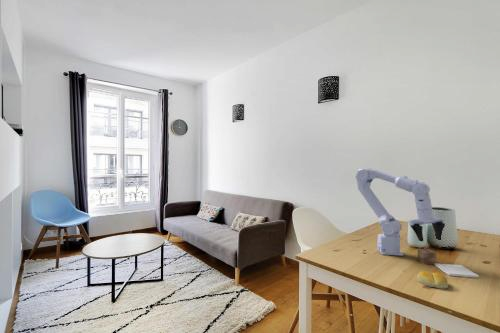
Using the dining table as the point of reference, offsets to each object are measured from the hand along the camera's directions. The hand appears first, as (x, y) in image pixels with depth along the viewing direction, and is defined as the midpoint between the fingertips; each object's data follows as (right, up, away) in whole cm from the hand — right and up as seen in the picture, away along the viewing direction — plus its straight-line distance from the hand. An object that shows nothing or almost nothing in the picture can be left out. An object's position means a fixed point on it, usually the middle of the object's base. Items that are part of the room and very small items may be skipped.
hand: (429, 240), depth 108 cm
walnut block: (-1, -10, 0) cm, 10 cm away
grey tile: (+3, -10, -10) cm, 14 cm away
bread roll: (-13, -10, -20) cm, 26 cm away
